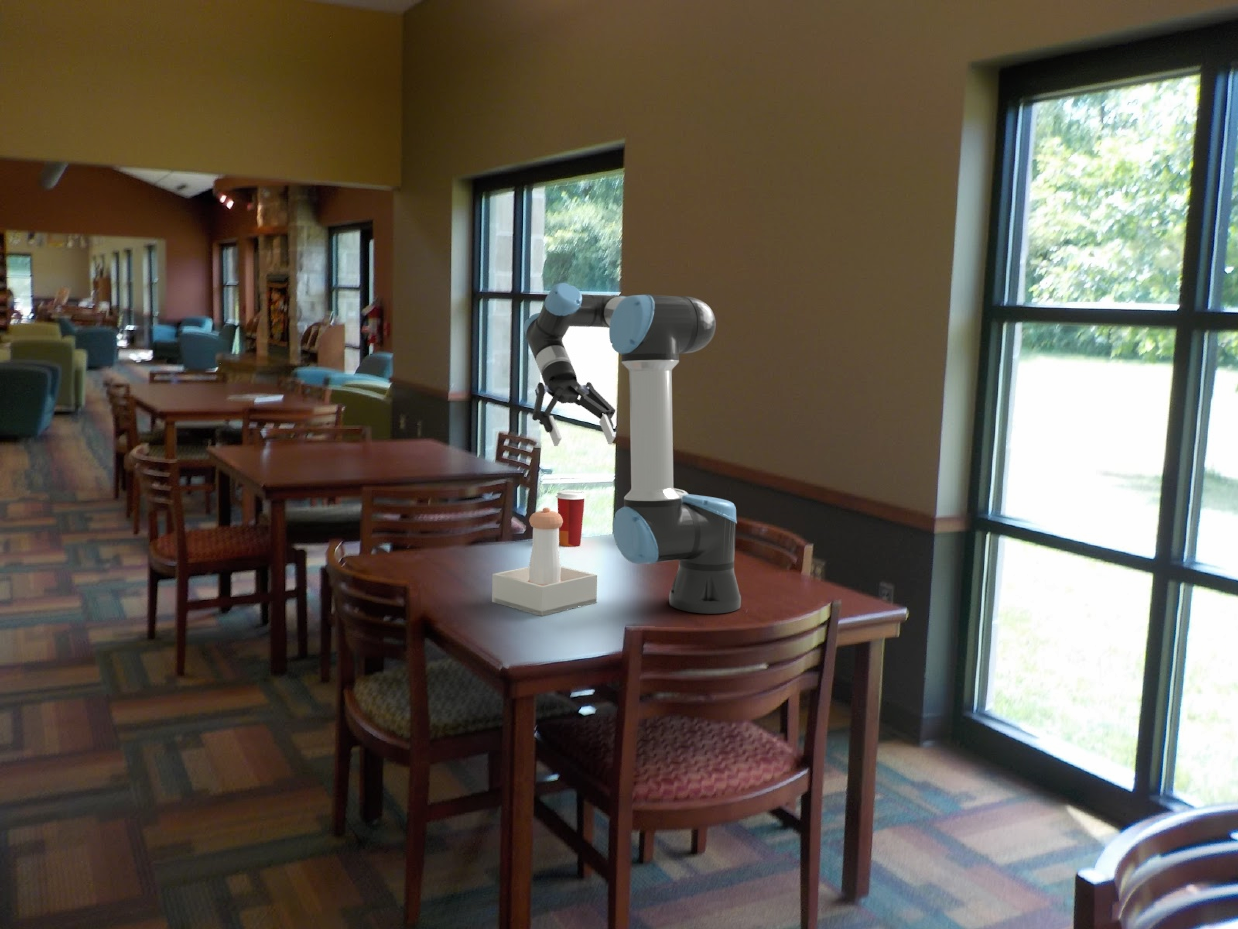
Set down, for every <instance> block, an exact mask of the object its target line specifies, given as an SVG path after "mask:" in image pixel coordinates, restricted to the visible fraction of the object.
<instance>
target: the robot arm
mask: <svg viewBox="0 0 1238 929" xmlns="http://www.w3.org/2000/svg"><path fill="white" fill-rule="evenodd" d="M716 322H717V321H716V316H715V314H714V312H713V310H712V309H711V307H710V306H709V305H708V304H707V303H706V302H704V301H703V300H701V299H698V298H696V297H692V296H675V295H672V296H671V295H660V294H659V295H657V294H637V295H635V294H633V295H629V296H625V295H618V294H617V295H616V294H611V295H608V294H589V293H588V294H587V293H585V294H584V293H581V291H580V290H579V288H577V287H575V286H574V285H572V284H571V285H570V284H569V283H566V282H559V283H557V284H555V285H554V286H553V287H552V288H551V290H550V291H549V292H548V294H547V295H546V297H545V300H544V303H543V305H542V307H541V309H540V312H537V313H533V314H532V315H531V316H529V318H527V319H526V320H525V322H524V325H523V331H524V334H525V339H526V342H527V344H528V345H529V348H530V350H531V353H532V355H533V358H534V361H535V362H536V365H537V367H538V370H539V373H540V375H541V378H542V381H543V382H538V383H537V386H536V387H535V389H534V393H535V396H536V398H535V403H534V407H533V413H532V417H531V418H532V421H539V422H538V423H539V425H541V426H543V427H544V430H545V432H546V433H549V435H550V438H551V441H552V443H553V446H554V447H558V446H559V444H560V442H561V440H562V436H561V433H560V431H559V428H558V425H557V423H556V420H555V418H554V415H550V414H551V413H552V411H553V410H554V408H555V406H556V404H557V403H558V402H559V403H561V404H575V405H577V406H581V407H583V408H584V409H585V410H587V411H588V412H589V413H591V414H592V415H593V416H595V417H597V418H598V419H599V424H600V425H599V426H600V427H601V430H602V433H603V435H604V437H605V439H606V442H607V444H608V445H612V444H613V442H614V440H615V438H616V433H615V432H614V430H613V428H614V424H613V421H612V418H613V416H614V415H615V413H616V409H615V408H614V407H613V406H612V405H611V403H610V402H608V401H607V400H606V399H605V398H604V397H603V396H602V395H601V394H600V393H599V392H598V391H597V390H596V389H595V388H594V385H593V384H592V382H590V381H588V382H586V383H585V384H580V383H579V382H578V379H577V374H576V372H575V369H574V367H573V365H572V361H571V359H570V357H569V355H568V352H567V350H566V348H565V346H564V343H563V338H564V336H565V335H566V333H567V332H568V330H569V328H570V327H579V328H580V327H583V328H585V327H586V328H589V327H592V328H593V327H594V328H607V329H609V330H608V331H609V333H608V334H609V341H610V343H611V347H612V349H613V350H614V351H615V352H616V353H618V354H620V355H621V364H622V365H623V366H624V367H625V368H626V369H627V370H628V375H629V377H628V378H629V421H630V422H629V430H630V431H629V432H630V433H629V434H630V485H631V488H630V490H629V492H627V493H626V494H625V496H624V497H623V506H622V507H621V508H619V509H618V510H617V511H616V512H615V514H614V517H613V519H612V531H613V532H612V533H613V538H614V541H615V545H616V547H617V549H618V550H619V552H620V553H621V555H622V557H624V559H626V560H627V561H628V562H630V563H632V564H637V565H640V564H641V565H642V564H647V565H654V564H656V563H664V562H665V563H666V562H673V561H675V562H676V561H678V569H677V571H676V575H675V577H674V579H673V582H672V584H671V589H670V591H669V598H668V599H669V601H668V603H669V605H670V606H671V607H673V608H674V609H677V610H680V611H684V612H689V613H697V614H708V615H710V614H714V615H716V614H726V613H733V612H735V611H738V610H739V609H741V606H742V605H741V604H742V603H741V602H742V595H741V593H740V591H739V585H738V583H737V582H738V581H737V578H736V573H735V552H736V551H735V550H736V529H737V524H738V521H737V509H736V505H735V504H734V503H733V502H732V501H729V500H727V499H723V498H718V497H712V496H706V495H698V494H689V495H683V496H682V498H681V496H680V495H679V494H678V493H677V492H676V491H675V490H674V488H675V487H674V450H673V449H674V448H673V447H674V445H673V443H674V440H673V439H674V438H673V436H674V434H673V430H674V429H673V382H672V381H673V380H672V376H673V369H674V368H675V367H676V366H677V365H678V364H679V363H680V354H681V355H682V354H691V353H695V352H698V351H700V350H702V349H704V348H705V347H706V346H707V345H709V343H710V342H711V341H712V339H713V338H714V336H715V333H716V326H717V323H716ZM546 393H547V394H548V395H550V396H551V397H552V398H551V400H550V401H549V403H548V405H547V407H546V408H545V410H544V411H542V408H543V403H544V398H545V395H546ZM579 396H580V398H579Z"/></svg>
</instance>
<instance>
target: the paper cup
mask: <svg viewBox="0 0 1238 929" xmlns="http://www.w3.org/2000/svg"><path fill="white" fill-rule="evenodd" d="M555 498H556V499H557V513H558V514H560V515H561V517H562V519H563V523H562V526H561V527H559V546H561V547H565V548H567V547H568V548H569V547H570V548H573V547H574V548H575V547H579V546H581V542H582V531H583V530H582V529H583V520H584V510H585V499H586V496H585V492H584V491H582V490H577V489H576V490H575V489H566V490H565V489H564V490H559V491H558V492H557V493H556V496H555Z"/></svg>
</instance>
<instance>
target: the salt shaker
mask: <svg viewBox="0 0 1238 929" xmlns="http://www.w3.org/2000/svg"><path fill="white" fill-rule="evenodd" d="M528 521H529V525H530V526H531V527H532V547H531V552H530V553H531V554H530V557H529V563H528V564H529V566H528V567H529V580H528V582H530V583H534V584H538V585H541V586H544V585H549V584H553V583H558V582H562V581H561V580H560V576H561V566H562V563H561V557H560V556H561V555H560V550H559V549H560V547H559V546H560V545H559V527H561V526H562V523H563V519H562V517H561V515H560V514H558V512H556V511H553V510H551V509H550V507H543V508H542V510H538V511H535V512H534V513H532V514H531V515H530V517H529V519H528Z"/></svg>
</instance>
